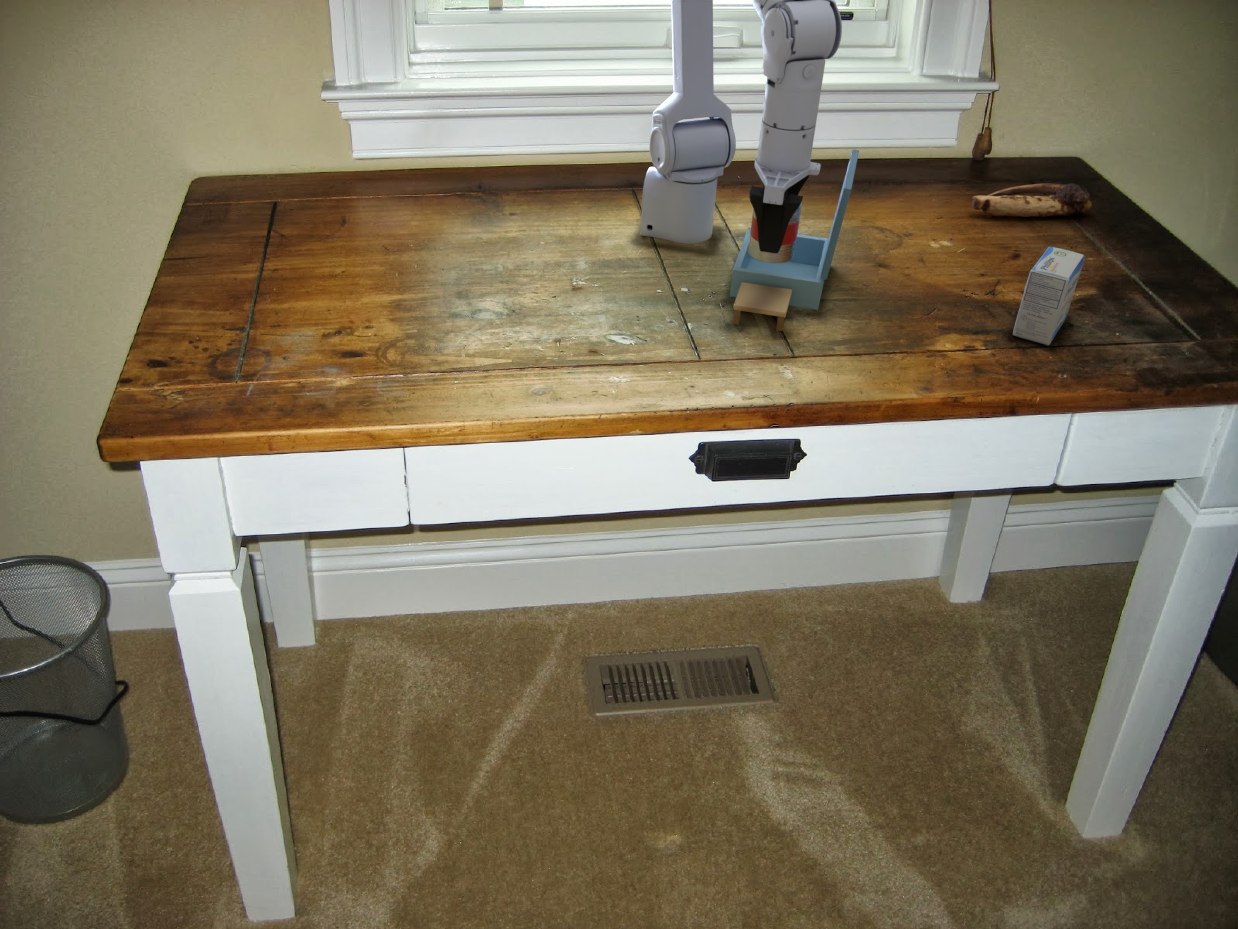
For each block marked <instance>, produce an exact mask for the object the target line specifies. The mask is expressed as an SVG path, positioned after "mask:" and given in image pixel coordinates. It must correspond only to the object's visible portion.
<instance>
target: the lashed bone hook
mask: <svg viewBox="0 0 1238 929" xmlns="http://www.w3.org/2000/svg"><path fill="white" fill-rule="evenodd" d="M1042 193H1044V194H1045V193H1049V194H1050V195H1023V194H1042ZM1090 198H1091V195H1090V193H1089V192H1088V191H1087V188H1086V187H1084V186H1080V185H1078V184H1075V183H1072V182H1070V183H1067V184H1063V183H1061V184H1060V183H1035V184H1024V185H1017V186H1011V187H1008V188H1003V189H1001V190H997V191H994V192H992V193H990V194H987V195H981V194H980V195H973V196H972V198H971V207H972V208H973V209H974V210H975V211H976V210H977V211H981V210H982V212H983V213H985V214H989V215H991V216H1005V217H1008V216H1011V217H1014V218H1020V217H1021V218H1023V217H1024V218H1029V217H1041V218H1042V217H1044V218H1045V217H1060V216H1061V217H1067V216H1070V215H1075V214H1079V213H1080V214H1082V213H1083V214H1084V213H1086V212H1089V211H1090V210H1091V209H1092V207H1093V206H1092V202H1091V200H1090Z"/></svg>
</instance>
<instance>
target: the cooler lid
mask: <svg viewBox="0 0 1238 929" xmlns="http://www.w3.org/2000/svg"><path fill="white" fill-rule="evenodd" d="M859 154H860V150H859V149H855V148H853V149H851V154H850V157H849V160H848V165H847V169H846V172H845V176H844V179H843V184H842V187H841V191H840V194H839V198H838V201H837V206H836V210H835V212H834V218H833V221H832V225H831V228H830V232H829V236H828V239H829V240H828V244H827V249H826V253H825V258H824V262H823V267H822V271H821V275H820V279H824V281H827V280H828V276H829V272H830V269H831V266H832V265H831V264H832V262H833V258H834V255H835V252H836V247H837V244H838V240H839V237H840V232H841V229H842V226H843V222H844V218H845V215H846V210H847V207H848V205H849V204H848V203H849V200H850V197H851V192H852V189H853V183H854V179H855V174H856V170H857V169H856V168H857V163H858V158H859Z"/></svg>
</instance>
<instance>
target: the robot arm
mask: <svg viewBox="0 0 1238 929" xmlns="http://www.w3.org/2000/svg"><path fill="white" fill-rule="evenodd" d="M750 2H751V4H752V6H753V8H754V10H755V12H756V13H757V16H759V19H760V21H761V22H762V24H761V25H760V41H761V42H760V43H761V48H762V53H763V61H762V69H763V72H762V74H763V76H765V77H766V81H765V83H766V84H765V89H764V98H763V104H762V105H763V106H762V113H761V121H760V122H761V123H760V130H759V131H760V132H759V140H758V146H757V156H756V157H755V158H754V163H753V164H754V169H755V171H756V173H757V175H758V177H759V179H760V180H761V182H762V186H761V187H759V186H755V185H754V186H753V185H752V186H751V187H750V190H749V193H748V194H749V196H748V197H749V202H750V203H751V206H752V208H753V209H754V212H755V215H756V220H757V228H758V241H759V248H760V251H762V252H769V253H776V254H777V253H778V252H779V250H780V248H781V246H782V243H783V240H784V236H785V233H786V230H787V227H788V224H789V222H790V220H791V218H792V216H793V214H794V213H795V211H796V210H797V209H798V207H799V206H800V204H801V202H802V203H803V199H804V196H803V195H799V194H800V192H801V190H802V189H803V186H804V185H805V184H806V182H807V181H808V179H809V178H810V176H819V175H820V171H821V167H822V164H821V163H819V162H813V161H811V159H812V153H813V146H814V140H815V132H816V128H817V121H818V113H819V106H820V100H821V99H820V98H821V93H822V86H823V80H824V72H825V67H826V60H829V59H831V58H833V56H835V54H836V53H837V51H838V50H839V47H840V44H841V42H842V41H841V40H842V34H843V23H842V17H841V13H840V10H839V7H838V5H837V2H836V1H835V0H750ZM671 42H672V44H671V46H672V79H673V80H672V84H673V88H672V89H673V93H672V94H671V95H670V96H669V97H668V98H666V99H665V101H664V102H662V103H661V104H660V105H659V106H658V107H657V108H656V109H655V110H654V111H653V112H652V118H651V119H652V121H651V132H650V135H649V143H648V145H649V146H648V147H649V156H650V159H651V162H652V165H653V166H650V167H649V168H648V169H647V171H646V174H645V177H644V181H643V187H642V196H641V197H642V198H641V211H640V212H641V213H640V227H639V228H640V229H639V235H640V236H645V237H651V238H657V239H663V240H667V241H671V242H674V243H679V244H698V243H703V242H706V241H708V240H709V239H710V238H712V236H713V229H714V218H715V217H714V216H715V208H716V198H717V191H718V190H717V188H718V179H719V178H718V177H721V176H724V170H725V168H728V167H729V166H730V165H731V163H732V162H733V160H734V157H735V155H736V148H737V141H736V133H735V130H734V126H733V118H732V109H731V108H730V106H728V105H727V103H725V102H724V101H723V100H721V99H720V98H719V97H717V95H716V94H714V91H715V88H714V87H715V86H714V82H715V81H714V0H671ZM703 118H704V119H703ZM705 118H706V119H705ZM693 119H695V120H693ZM787 192H788V193H792V194H794V195H791V194H787ZM753 209H752V210H753ZM649 226H652V227H651V228H649Z"/></svg>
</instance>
